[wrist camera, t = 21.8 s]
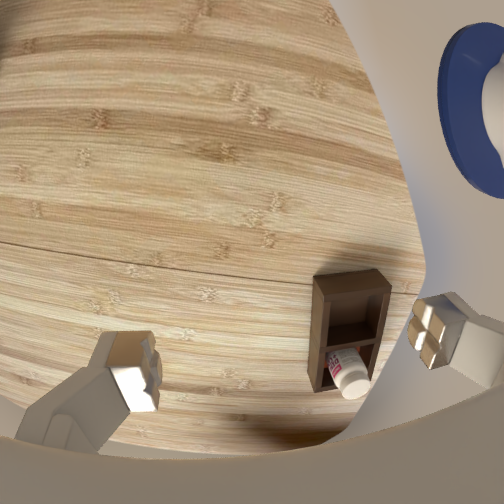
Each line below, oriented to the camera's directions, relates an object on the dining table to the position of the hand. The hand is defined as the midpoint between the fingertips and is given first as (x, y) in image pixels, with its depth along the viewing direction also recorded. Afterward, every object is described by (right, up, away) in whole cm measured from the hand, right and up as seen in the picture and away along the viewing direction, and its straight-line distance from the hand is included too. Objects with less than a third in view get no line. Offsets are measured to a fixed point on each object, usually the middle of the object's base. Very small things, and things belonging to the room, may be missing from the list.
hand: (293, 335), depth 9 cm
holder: (+11, -8, +35) cm, 37 cm away
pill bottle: (+11, -12, +36) cm, 39 cm away
